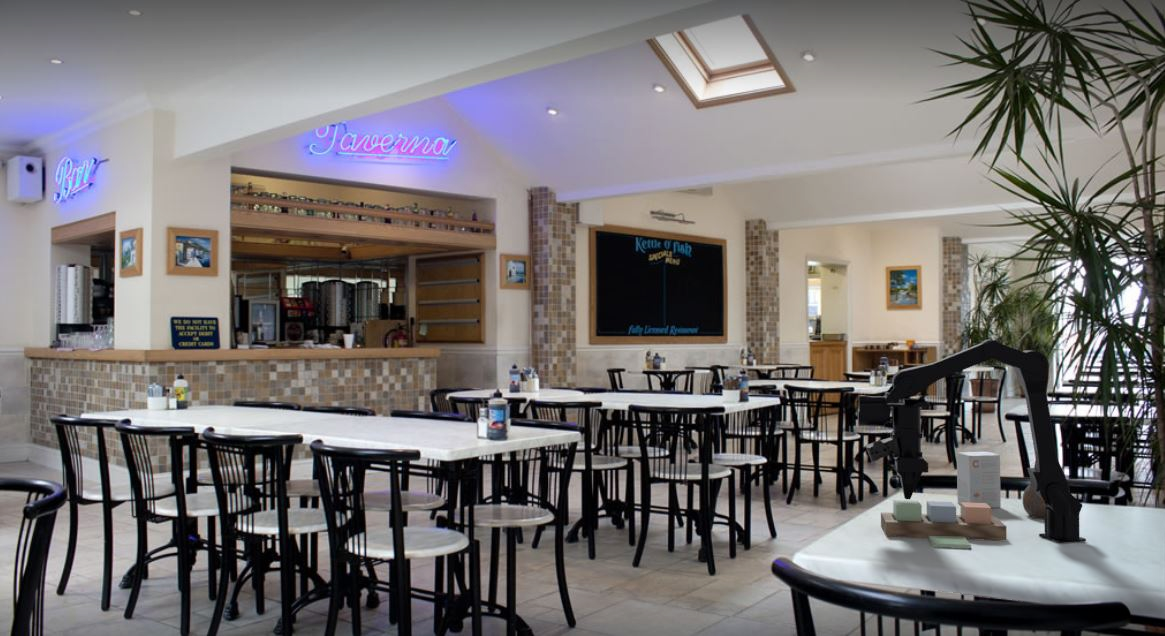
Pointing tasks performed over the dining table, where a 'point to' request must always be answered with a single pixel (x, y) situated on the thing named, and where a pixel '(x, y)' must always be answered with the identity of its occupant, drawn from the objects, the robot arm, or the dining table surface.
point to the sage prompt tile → (949, 541)
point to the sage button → (907, 510)
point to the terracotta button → (975, 513)
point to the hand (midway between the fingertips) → (907, 499)
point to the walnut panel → (943, 528)
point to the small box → (978, 478)
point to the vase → (1033, 503)
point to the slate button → (941, 511)
